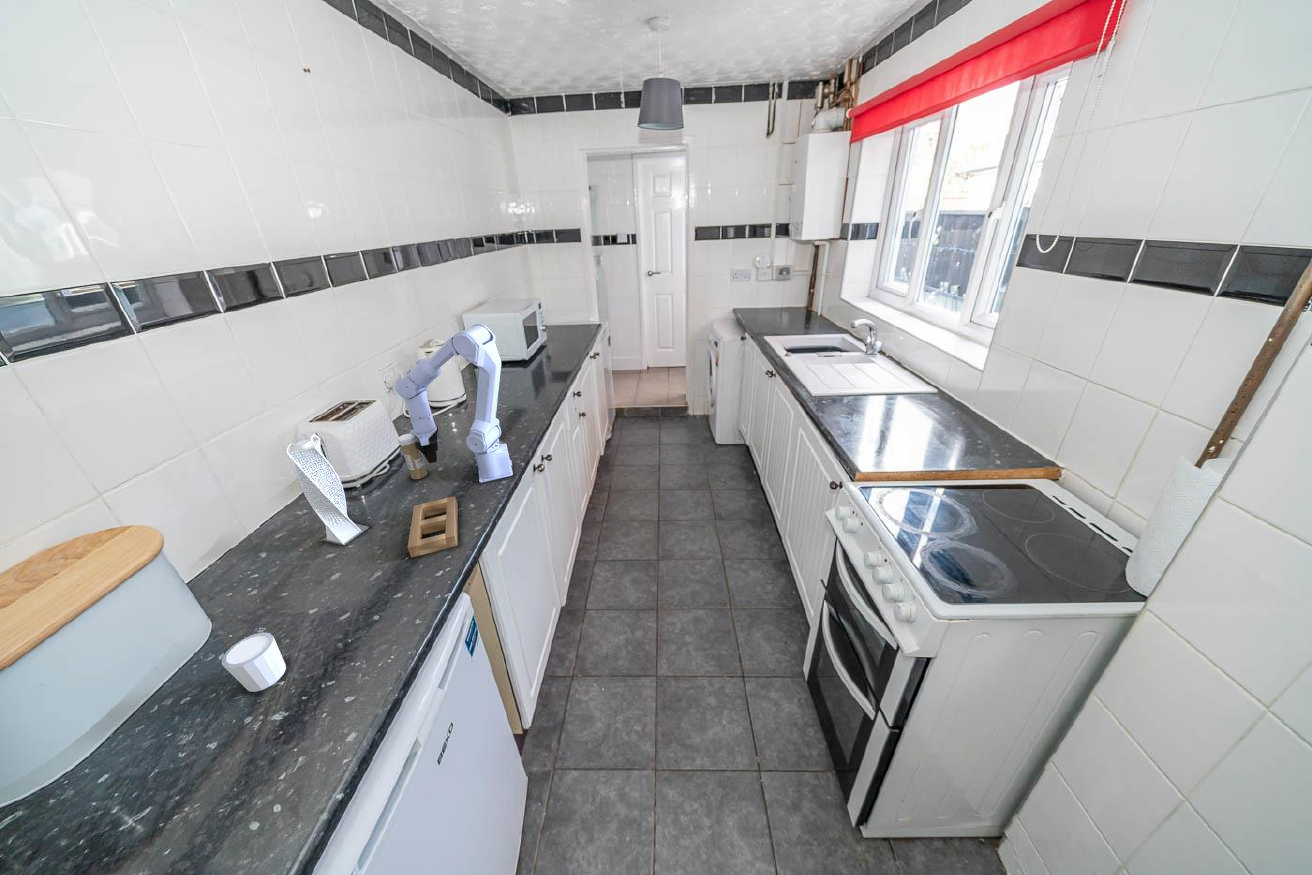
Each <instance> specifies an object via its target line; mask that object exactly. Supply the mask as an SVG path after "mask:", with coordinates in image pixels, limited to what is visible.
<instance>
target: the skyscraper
mask: <svg viewBox="0 0 1312 875" xmlns="http://www.w3.org/2000/svg"><path fill="white" fill-rule="evenodd" d="M314 437H315V438H316V439H314ZM321 444H322V443H321V438H320V436H319V435H317V434H315V433H313V434H311V436H310V439H303V440H300V441H297V442H296V443H292V442H290V443H289V444H288V445H287V447H286V450H285V454H286V456H287V457H288V458H289V459H290V460H291V461H292V462H293V466H294V469H295V474H296V476H297V480H298V484H299V485H300V488H301V490H302V493H303V495H304V496H305V498H306V500H307V501H308V503H309V505H310V506H311V508H312V510H313V511H314V512H315V514H316V515H317V517H318V518H319V519H320V520H321V522H322V523H323V524H324V526H325V533H326V536H325V537H323V538H322V540H323V542H329V543H332V544H337V545H340V546H346V545H347V544H348V543H350V542H351V541H353V540H354V539H355V538H357V537H358V536H360V535H361V534H362V533H364V532H365V531H367V530H368V529H370V527H369V526H368V525H363V524H360V523H359V524H358V523H355V522H354V521H352V519H350V517H349V516H348V508H347V500H346V494H345V490H344V487H343V484H342V481H341V479H340V477H339V475H338V473H337V472H336V469H335V468H334V467H333V465H332V464H331V463H330V461H329V459H327V457H326V456H325V455H324V454H323V453H322V451H321V448H322V446H321Z"/></svg>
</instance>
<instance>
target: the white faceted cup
mask: <svg viewBox="0 0 1312 875" xmlns="http://www.w3.org/2000/svg"><path fill="white" fill-rule="evenodd" d="M279 648H280V647H279V646H278V644H277V641H276V640H275V637H274V635H273V634H272V633H270V632H258V633H254V634H251V635H248V636H247V637H244V638H242V639H241V640H240V641H238V642H236V643H234V644H233V645H232V646H231V647H230V648H229V649H228V650H226V652H225V653H224V655H223V657H222V658H221V666H222V667H223V668H224V669H226V671H227V672H228V673H229V674H231V675H232V677H234V679H236V681H237V682H239V683H240V685H242V686H243V688H244V689H246V691H248V692H251V693H252V692H253V693H257V692H261V691H263V690H266V689H267V688H269V687H271V686H273V685H274V684H276V683H277V682H278V681H279V680H280V679H281V678H282V677H283V675H284V674H285V673H286V670H287V665H286V662H285V660H284V657H283V656H282V652H281V651H280V649H279Z"/></svg>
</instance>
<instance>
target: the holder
mask: <svg viewBox="0 0 1312 875" xmlns="http://www.w3.org/2000/svg"><path fill="white" fill-rule="evenodd" d="M458 509H459V505H458V502H457V498H456V495H455V496H449V497H445V498H442V499H437V500H432V501H429V502H423V503H420V504H415V505H413V510H412V517H411V522H410V529H409V535H408V542H407V550H408V553H409V556H410V558H416V557H420V556H423V555H427V554H431V553H434V552H438V551H443V550H446V549H450V548H455V547H458V532H459V530H458V527H459V524H458V522H459V520H458V519H459V518H458V516H459V514H458V513H459V510H458ZM439 514H442V515H439ZM436 515H439V516H436ZM432 516H433V517H432ZM434 516H435V517H434ZM427 517H430V518H427ZM441 531H445V533H442V534H437V535H433V536H430V537H425V538H423V537H424V536H425V535H430V534H434V533H438V532H441Z"/></svg>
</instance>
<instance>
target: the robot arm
mask: <svg viewBox="0 0 1312 875" xmlns="http://www.w3.org/2000/svg"><path fill="white" fill-rule="evenodd" d="M459 355H460V356H461V357H463V358H464V359H466V360H467V361H468V362H470V363H471V364H473V365H474V366H476V367H477V368H478V379H477V391H476V402H475V403H476V404H475V415H474V416H475V417H474V420H473V422H472V425H471V427H470V428H469V434H468V435H467V437H466V438H465V445H466V447H467V448H468V450H469V451H470V452H472V453H473V454H474V457H475V461H476V465H477V469H478V481H479V483H481V484H482V483H487V482H491V481H495V480H499V479H503V478H509V477H513V475H514V472H513V462H512V459H511V458H510V455H509V450H508V445H507V443H500V437H502V436H501V435H502V429H501V426H500V419H498V418H497V410H498V400H499V390H500V381H501V371H502V359H501V357H500V354H499V351H498V348H497V345H496V335H495V334H494V333H493V332H492V331H491V330H490V328H489V327H487V326H486V325H485V324H482V323H475V324H474V325H472V326H470V327H469V328H466V329H464V330H461V331H459V332H456V333H455V334H454V335H453V336H451V337H449V338H448V339H447V340H446V341H445V342H444V343H443V344H442V345H441V347H439V349H438V350H437V351H436V352H435V353H434V354H433V355H432V356H431V357H430V358H429V357H428V358H427V357H425V358H419V359H417V360H416V361H415V366H414V367H413V368H412V369H408V370H407V371H406V372H405V374H406V375H405V376H403V377H400V378H398V379H397V380H396V382H395V384H394V388H395V389H394V390H395V391H396V393H397V395H399V397H401V398H403V400H404V404H405V407H406V411H407V412H408V416H409V420H410V422H411V426H412V428H413V429H411V430H410V431H409V434H411V435H415V437H416V438H417V439H418V440H419V441H417V442H416V444H415V446H416V448H417V449H419V451H420V453H421V454H422V455H423V456H424V457H425V459H426V461H427V463H428V464H433V463H437V461H438V455H437V451H439V444H438V431H439V426H438V425H436V422H435V420H434V417H433V413H432V410H431V406H430V403H429V400H428V391H427V390H428V387H429V385H430V384H432V382H433V381H434V380H436V379H437V378H438V377H439V376H440V375H441V373H442V369H441V367H442V366H444V365H445V364H446V363H447V362H448V361H450V360H451V359H452V358H453V357H454V356H459Z"/></svg>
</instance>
